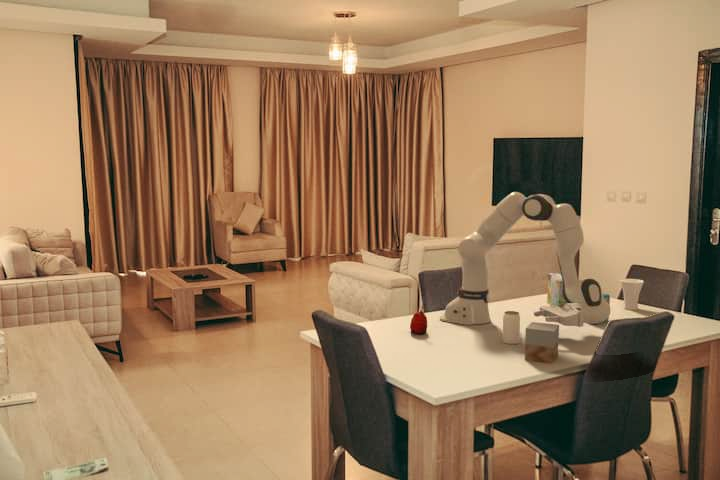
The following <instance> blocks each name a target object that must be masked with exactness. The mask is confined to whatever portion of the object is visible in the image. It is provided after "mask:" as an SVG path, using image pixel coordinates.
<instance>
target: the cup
mask: <svg viewBox="0 0 720 480" xmlns="http://www.w3.org/2000/svg"><path fill="white" fill-rule="evenodd" d="M619 282H620V284H621V285H620V286H621V288H622V292H623V307H622V308H623V309H625V310H630V311H634V310H635V311H637V310H638V308H639V304H638V303H639V297H640V293H641V290H642V287H643V284H644V282H645V281H644V280H642V279H638V278H622V279H620V280H619Z"/></svg>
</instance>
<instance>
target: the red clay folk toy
mask: <svg viewBox="0 0 720 480" xmlns="http://www.w3.org/2000/svg"><path fill="white" fill-rule="evenodd" d="M420 301H421V302H422V305H421V306H420V307H421V310H420V311H419V312H415V313H414V314H413V316H412V318H411V321H410V326H409V329H410V334H412V333H414V334H415V335H418V334H419V335H425V334H427V330H428V320H427V319H428V318H427V316H426V314H425V312H424V311H423V309H424V304H427V303H428V301H427V300H426V298H424V300H420Z"/></svg>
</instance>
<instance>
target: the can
mask: <svg viewBox="0 0 720 480" xmlns="http://www.w3.org/2000/svg"><path fill="white" fill-rule="evenodd" d="M503 313H504V314H503V316H502V317H503V319H502V342H503V343H504V344H507V345H517V344H519V343H520V333H521V332H520V329H521V328H520V327H521V316H520V312H518V311H516V310H508V311H507V310H506V311H504V312H503Z"/></svg>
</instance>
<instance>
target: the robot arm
mask: <svg viewBox="0 0 720 480" xmlns="http://www.w3.org/2000/svg"><path fill="white" fill-rule="evenodd" d="M523 217H525V218H527V219H529V220H531V221H536V222H537V221H541V222H542V221H543V222H545V221H547V222H549V224H550V225H551V229H552V230H553V231H552V232H553V234H554V238H555V242H556V249H557V251H556V253H557V261H558V265H559V270H560V275H561V276H562V281H563V297H564V299H565V301H566V302H567V304H565V305H564V307H562V308H560V307H558V306H551V305H542V306H539V310H538V311H537V310H536V311H533V316H535V317H540V316H542V317H544V318H545V322H547V323H557V324H558V325H562V326H565V327H581V328H582V327H584V325H585V324H587V325H588V324H589V325H590V324H591V323H599V322H603V321H605V320H606V319H608V317H609V318H610V315H611V305H609V304H608V302H606V301H605V299H604V297H603V295H602V294H603V292H602V288H601V285H600V283H599V282H598V281H597V280H596V279H594V278H585V279H579V278H578V273H577V269H576V264H575V256H576V255H577V253H578V251H579V250H580V249H581V247H582V246H583V244H584V241H585V238H584V237H585V236H584V232H583V228H582V225H581V223H580V220H579V217H578V215H577V213H576V211H575V209H574V208H573V206H572V205H571V204H569V203H559V204H557V202H556V200H555V199H554V198H553V197H552V196H551V195H548V194H543V193H537V194H531V195H528V197H526V196H525V194H523V193H521V192H520V191H519V192H518V191H513V192H511V193H509V194H508V195H507V196H505V197H504V198H503V199H501V201H500V202H499V203H498V204H496V206H494V208H493V209H492V210H491V211H490V212H489V213H488V214H487V215H486V216H485V217H484V219H482V222H481V223H480V224H479V225H478V226H477V228H476V229H475V230H474V231H473V232H471V234H469V235H467V236H465V237H463V238H462V239H461V241H460V242H459V243H458V248H457V251H458V254H459V256H460V263H461V271H462V286H461V287H460V288H459V289H458V290H457V297H456V298H455V299H453V300H451V301H450V302H449V303H448V304H446V306H445V309H444V313H442V314H441V315H440V316H439V321H442V322H448V323H454V324H459V325H460V324H461V325H467V326H472V325H473V326H474V325H484V324H488V323H490V322H491V321H492V319H491V315H490V312H489V311H490V310H489V301H490V295H489V294H490V293H489V292H490V291H489V289H488V285H489V281H488V280H489V272H488V269H487V262H486V256H487V255H488V254H489V253H490V252H491V251H492V250H493V248H495V246H497V244H498V243H499V241H500V240H501V239H502V238H503V237H504V236H505V235H506V234H507V232H509V230H510V229H512V228H513V227H514V225H515V224H516V223H517V222H519V220H520V219H521V218H523ZM608 320H609V319H608ZM603 323H604V322H603Z"/></svg>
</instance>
